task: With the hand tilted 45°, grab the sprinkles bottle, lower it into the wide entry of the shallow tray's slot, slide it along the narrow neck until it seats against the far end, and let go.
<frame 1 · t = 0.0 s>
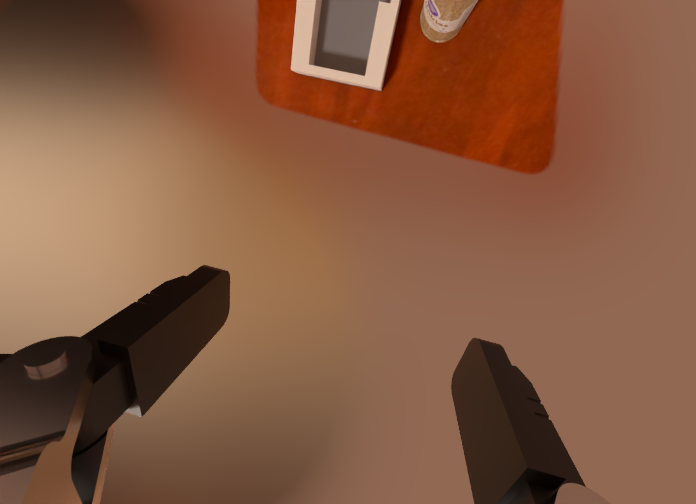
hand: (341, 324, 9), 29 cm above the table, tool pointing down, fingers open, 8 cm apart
sprinkles bottle: (442, 17, 28), on the table
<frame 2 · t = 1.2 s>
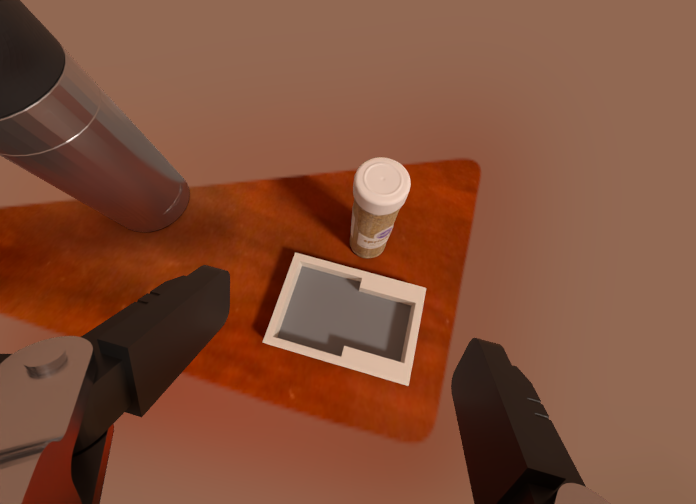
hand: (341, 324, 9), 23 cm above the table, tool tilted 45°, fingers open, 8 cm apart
shallow tray: (347, 316, 31), on the table
sprinkles bottle: (367, 242, 35), on the table
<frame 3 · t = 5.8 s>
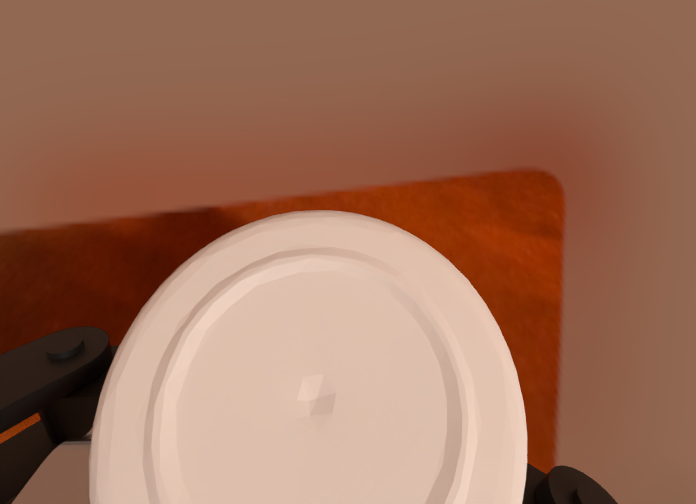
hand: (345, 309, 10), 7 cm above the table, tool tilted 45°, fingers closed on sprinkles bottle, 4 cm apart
sprinkles bottle: (335, 360, 15), on the table, touching gripper
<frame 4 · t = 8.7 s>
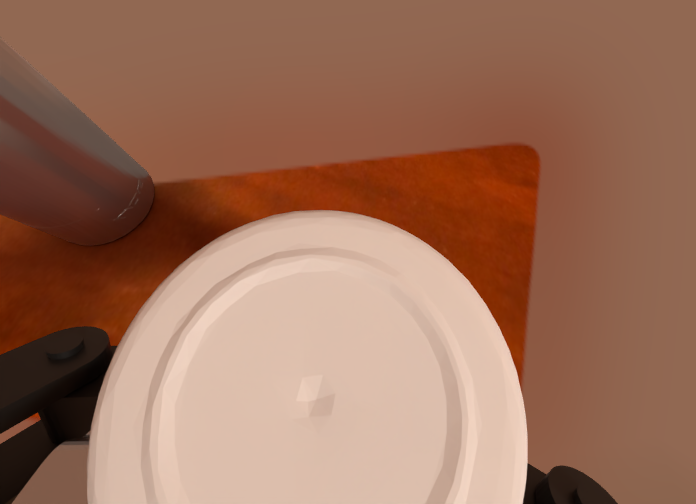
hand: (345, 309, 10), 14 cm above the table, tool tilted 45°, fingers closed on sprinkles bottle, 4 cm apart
sprinkles bottle: (335, 360, 15), point 7 cm above the table, touching gripper
when the fingers open (7 cm above the table, at t = 11.9 s): sprinkles bottle stays where it is, resting on shallow tray.
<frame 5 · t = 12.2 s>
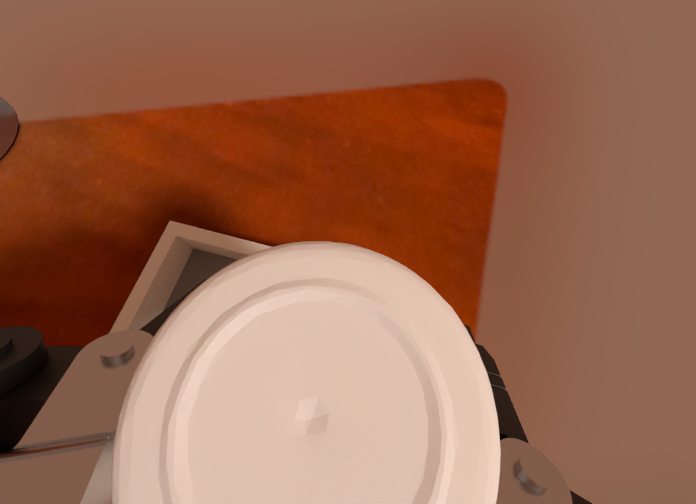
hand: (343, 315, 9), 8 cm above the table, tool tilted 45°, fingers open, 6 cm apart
shallow tray: (271, 341, 16), on the table
sprinkles bottle: (335, 363, 16), resting on shallow tray
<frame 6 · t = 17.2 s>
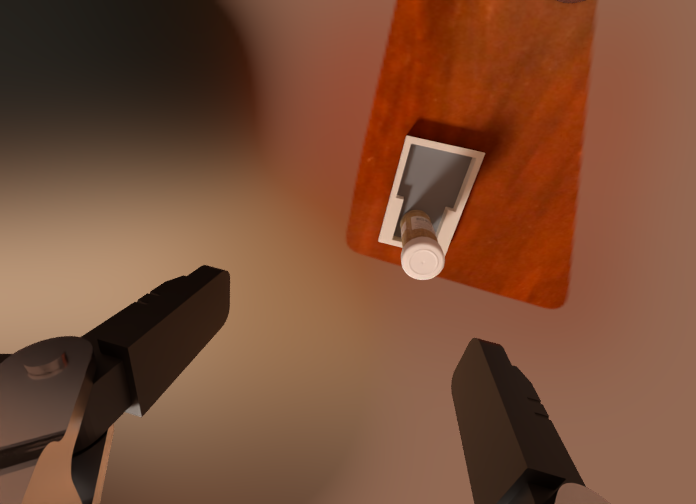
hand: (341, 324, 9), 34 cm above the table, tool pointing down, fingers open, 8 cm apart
shallow tray: (425, 197, 40), on the table
sprinkles bottle: (415, 223, 42), resting on shallow tray
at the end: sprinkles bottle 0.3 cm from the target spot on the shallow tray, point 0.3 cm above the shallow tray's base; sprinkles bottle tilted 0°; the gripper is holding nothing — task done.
